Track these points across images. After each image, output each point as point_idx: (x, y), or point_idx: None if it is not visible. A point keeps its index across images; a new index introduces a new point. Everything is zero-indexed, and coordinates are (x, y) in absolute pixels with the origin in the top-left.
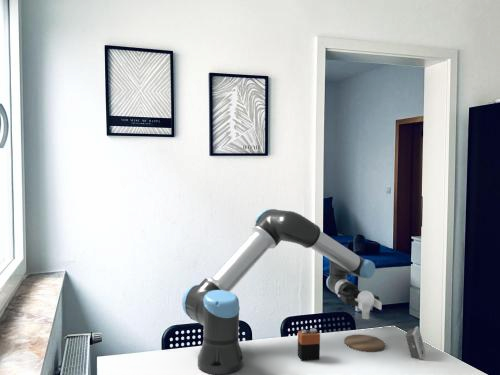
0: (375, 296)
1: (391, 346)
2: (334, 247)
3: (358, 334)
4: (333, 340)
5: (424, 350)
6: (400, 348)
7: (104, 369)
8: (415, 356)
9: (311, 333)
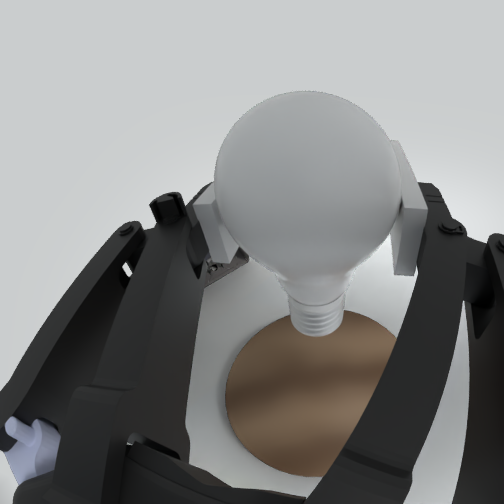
0: (166, 199)
1: (230, 338)
2: None
3: (284, 470)
4: (438, 454)
5: None
6: (217, 316)
7: None
8: (242, 251)
9: None
